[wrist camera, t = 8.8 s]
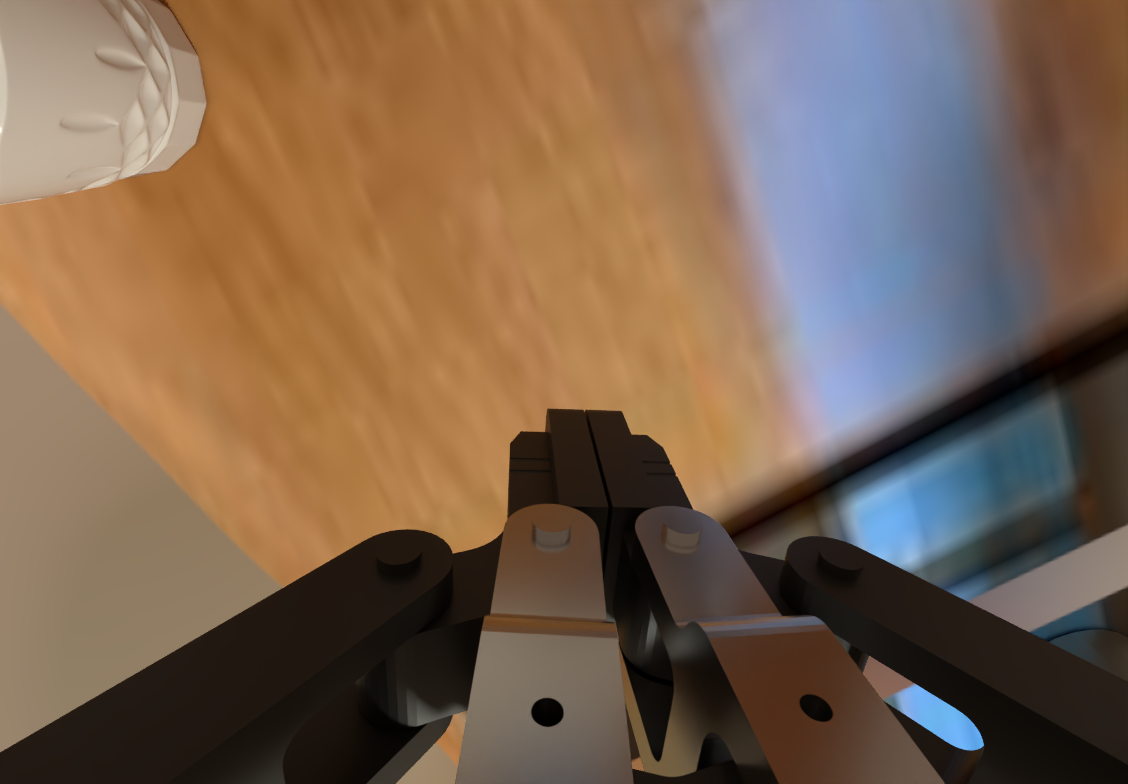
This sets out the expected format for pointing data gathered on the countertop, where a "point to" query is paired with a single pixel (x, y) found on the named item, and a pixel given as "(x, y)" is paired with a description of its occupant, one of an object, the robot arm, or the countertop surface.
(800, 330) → the countertop surface
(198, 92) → the white cup
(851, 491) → the countertop surface
